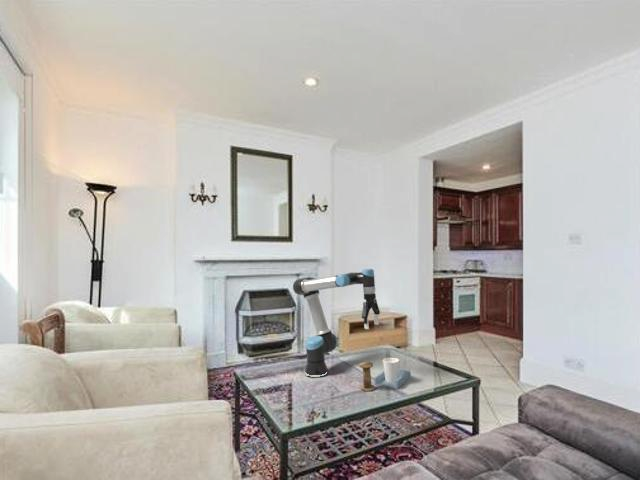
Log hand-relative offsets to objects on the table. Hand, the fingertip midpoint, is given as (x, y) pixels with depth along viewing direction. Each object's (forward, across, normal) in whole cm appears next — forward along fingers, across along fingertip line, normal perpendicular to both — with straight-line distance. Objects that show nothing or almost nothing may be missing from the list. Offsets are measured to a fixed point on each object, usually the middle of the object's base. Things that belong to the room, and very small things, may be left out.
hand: (371, 326), depth 219 cm
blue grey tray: (+31, -4, -14) cm, 34 cm away
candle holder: (+30, -5, -14) cm, 34 cm away
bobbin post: (+31, -21, -6) cm, 38 cm away
